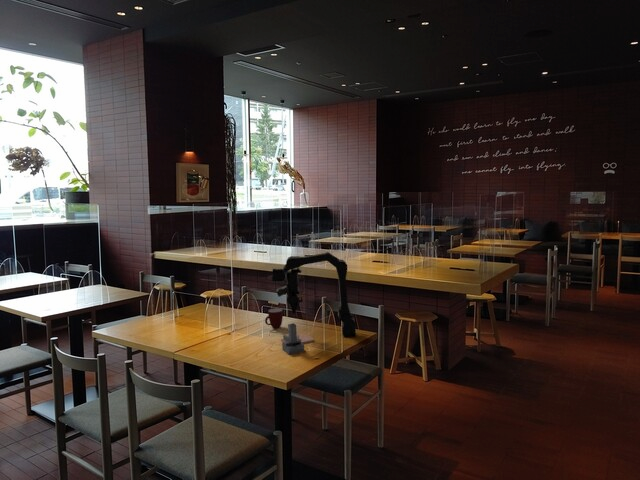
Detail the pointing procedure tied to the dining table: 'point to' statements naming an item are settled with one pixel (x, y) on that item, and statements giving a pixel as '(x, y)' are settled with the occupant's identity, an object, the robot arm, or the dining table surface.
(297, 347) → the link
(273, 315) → the mug
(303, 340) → the plate
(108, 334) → the dining table surface
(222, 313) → the dining table surface
